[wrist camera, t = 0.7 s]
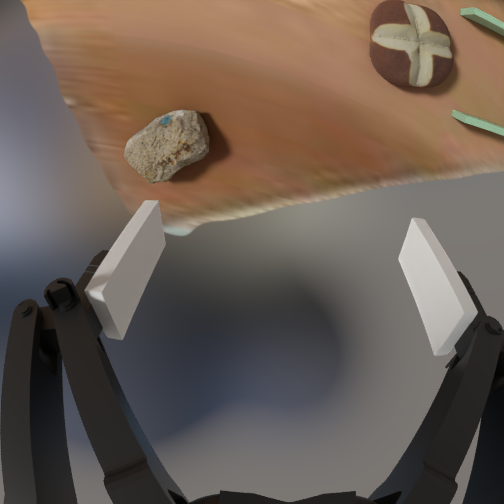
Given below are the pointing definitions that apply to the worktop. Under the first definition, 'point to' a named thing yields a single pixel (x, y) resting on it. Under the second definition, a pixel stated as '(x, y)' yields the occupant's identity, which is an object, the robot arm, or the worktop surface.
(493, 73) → the worktop surface
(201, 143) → the rock
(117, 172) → the worktop surface
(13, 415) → the robot arm
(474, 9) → the mint green tray
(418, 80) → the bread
